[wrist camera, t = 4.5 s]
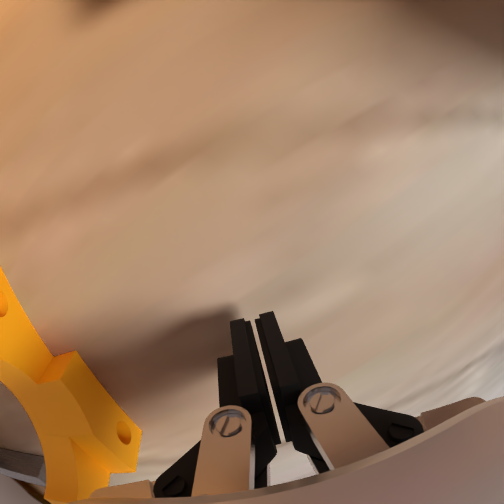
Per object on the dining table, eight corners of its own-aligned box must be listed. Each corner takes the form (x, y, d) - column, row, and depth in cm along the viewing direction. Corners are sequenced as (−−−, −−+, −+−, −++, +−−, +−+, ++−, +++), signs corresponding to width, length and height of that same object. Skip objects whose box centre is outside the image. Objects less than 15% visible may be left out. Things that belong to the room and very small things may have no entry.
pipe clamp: (142, 429, 14) (129, 521, 8) (89, 435, 14) (68, 514, 8) (20, 247, 10) (-73, 314, 4) (-24, 276, 10) (-98, 338, 4)
